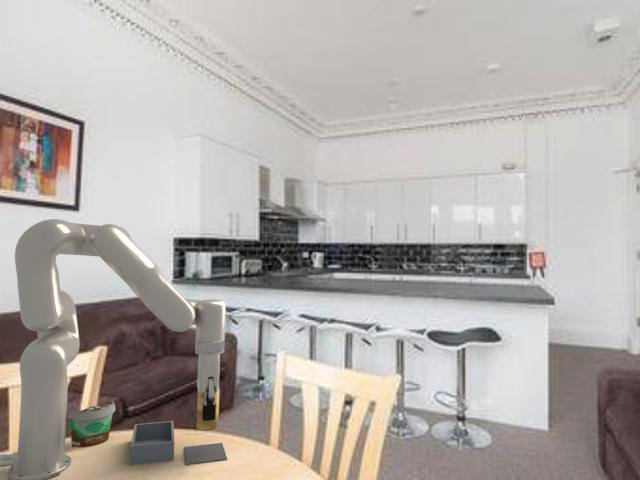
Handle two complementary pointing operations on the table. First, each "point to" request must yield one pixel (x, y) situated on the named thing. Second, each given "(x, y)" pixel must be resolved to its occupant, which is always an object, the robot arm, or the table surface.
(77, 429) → the food container
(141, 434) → the slate open box
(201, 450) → the gray square plate
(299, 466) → the table surface
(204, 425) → the mustard cylinder
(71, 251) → the robot arm
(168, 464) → the table surface
